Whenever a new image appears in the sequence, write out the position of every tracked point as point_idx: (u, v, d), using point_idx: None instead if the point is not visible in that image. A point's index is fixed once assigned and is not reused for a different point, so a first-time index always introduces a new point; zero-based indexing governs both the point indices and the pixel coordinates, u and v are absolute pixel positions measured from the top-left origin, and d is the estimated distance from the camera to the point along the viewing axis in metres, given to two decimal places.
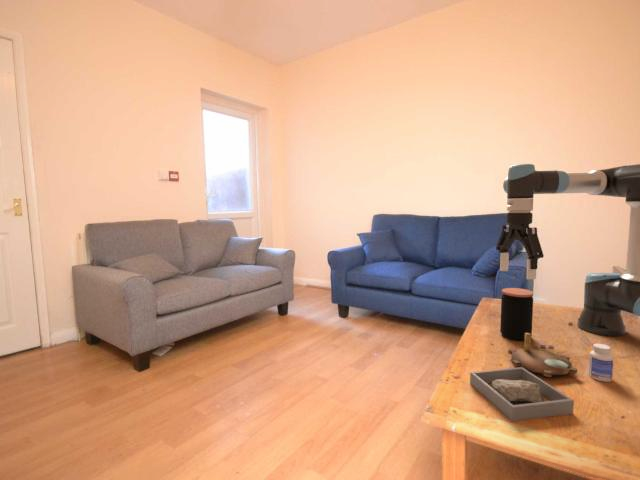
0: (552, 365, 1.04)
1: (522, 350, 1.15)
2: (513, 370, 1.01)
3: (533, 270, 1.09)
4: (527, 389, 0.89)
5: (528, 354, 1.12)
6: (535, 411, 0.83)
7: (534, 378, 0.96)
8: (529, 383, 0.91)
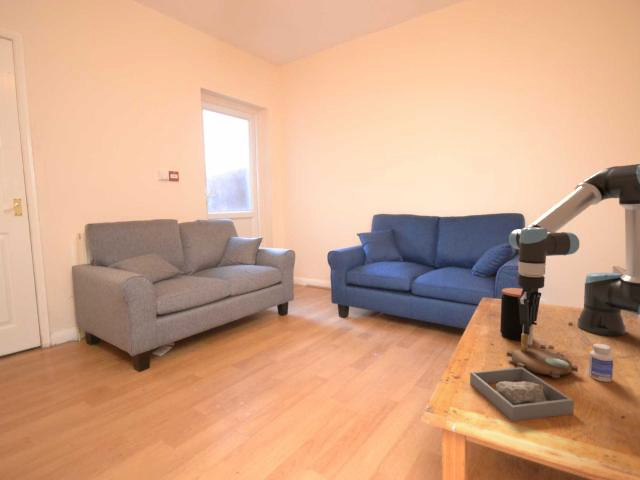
0: (555, 364, 1.04)
1: (519, 351, 1.14)
2: (513, 370, 1.01)
3: (528, 336, 1.15)
4: (532, 390, 0.88)
5: (527, 355, 1.11)
6: (535, 411, 0.83)
7: (534, 378, 0.96)
8: (533, 384, 0.90)
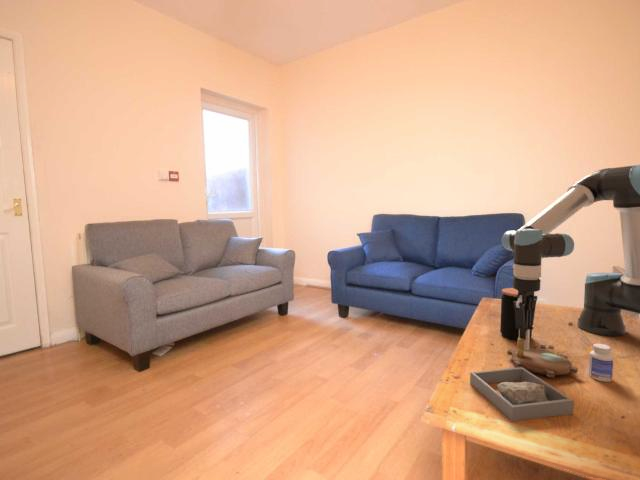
0: (557, 360, 1.07)
1: (518, 358, 1.09)
2: (513, 370, 1.01)
3: (524, 341, 1.11)
4: (534, 391, 0.88)
5: (530, 359, 1.08)
6: (535, 411, 0.83)
7: (534, 378, 0.96)
8: (535, 385, 0.90)
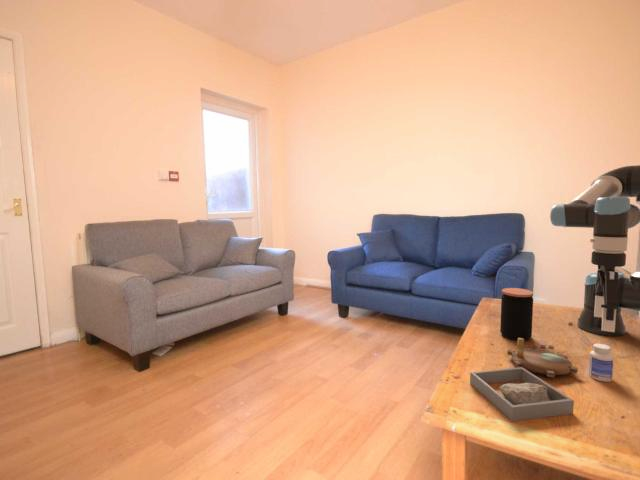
0: (557, 360, 1.07)
1: (518, 358, 1.09)
2: (513, 370, 1.01)
3: (610, 321, 0.93)
4: (537, 392, 0.87)
5: (530, 359, 1.08)
6: (535, 411, 0.83)
7: (534, 378, 0.96)
8: (537, 386, 0.89)
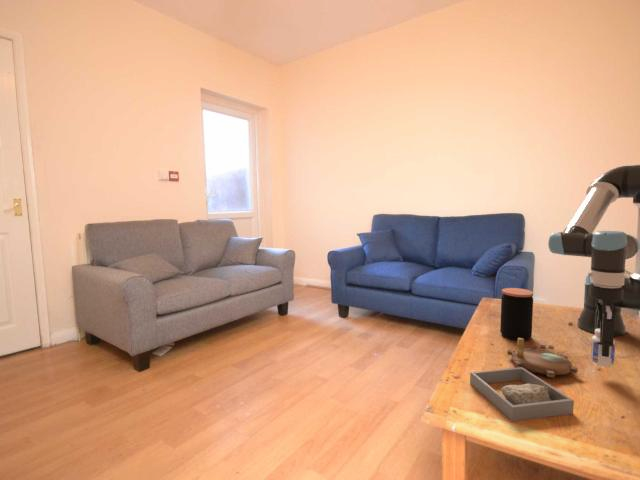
0: (557, 360, 1.07)
1: (518, 358, 1.09)
2: (513, 370, 1.01)
3: (606, 357, 0.98)
4: (539, 393, 0.87)
5: (530, 359, 1.08)
6: (535, 411, 0.83)
7: (534, 378, 0.96)
8: (539, 387, 0.89)
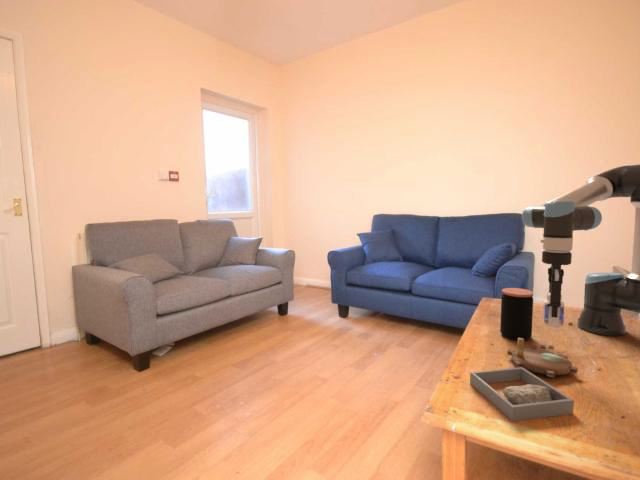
0: (557, 360, 1.07)
1: (518, 358, 1.09)
2: (513, 370, 1.01)
3: (555, 318, 1.05)
4: (541, 394, 0.87)
5: (530, 359, 1.08)
6: (535, 411, 0.83)
7: (534, 378, 0.96)
8: (540, 387, 0.89)
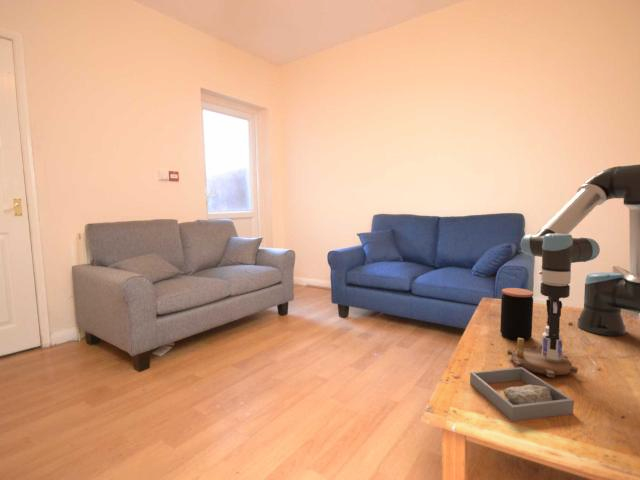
0: (557, 360, 1.07)
1: (518, 358, 1.09)
2: (513, 370, 1.01)
3: (554, 350, 1.05)
4: (542, 394, 0.86)
5: (530, 359, 1.08)
6: (535, 411, 0.83)
7: (534, 378, 0.96)
8: (541, 388, 0.88)
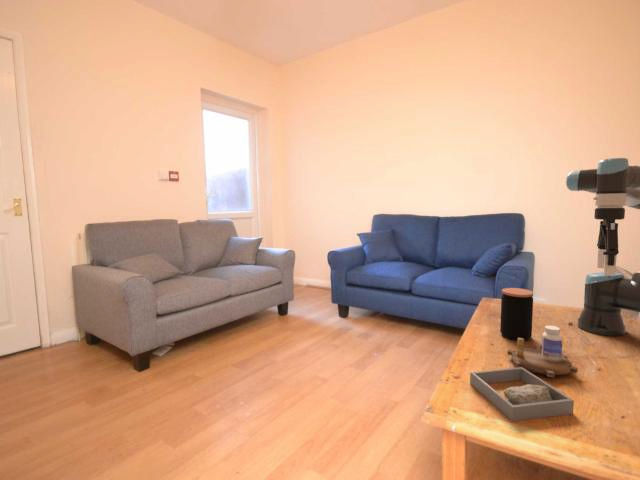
0: (557, 360, 1.07)
1: (518, 358, 1.09)
2: (513, 370, 1.01)
3: (611, 266, 1.07)
4: (542, 394, 0.87)
5: (530, 359, 1.08)
6: (535, 411, 0.83)
7: (534, 378, 0.96)
8: (540, 387, 0.89)
